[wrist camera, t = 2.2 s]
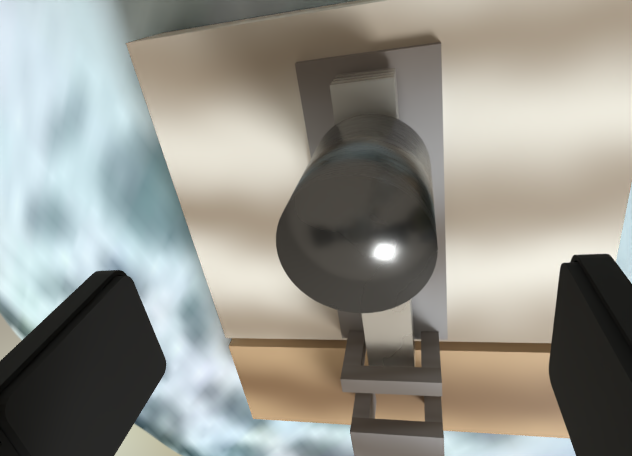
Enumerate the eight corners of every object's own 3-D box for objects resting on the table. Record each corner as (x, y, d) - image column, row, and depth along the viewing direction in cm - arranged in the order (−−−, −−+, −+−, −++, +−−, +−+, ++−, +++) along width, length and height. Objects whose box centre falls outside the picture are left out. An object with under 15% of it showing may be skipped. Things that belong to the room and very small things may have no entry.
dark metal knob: (308, 78, 16) (250, 142, 10) (426, 63, 15) (433, 124, 9) (352, 350, 22) (331, 482, 16) (437, 352, 21) (445, 493, 15)
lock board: (163, 32, 20) (67, 59, 14) (633, -46, 15) (753, -51, 10) (266, 380, 30) (234, 472, 24) (564, 391, 26) (604, 506, 20)
